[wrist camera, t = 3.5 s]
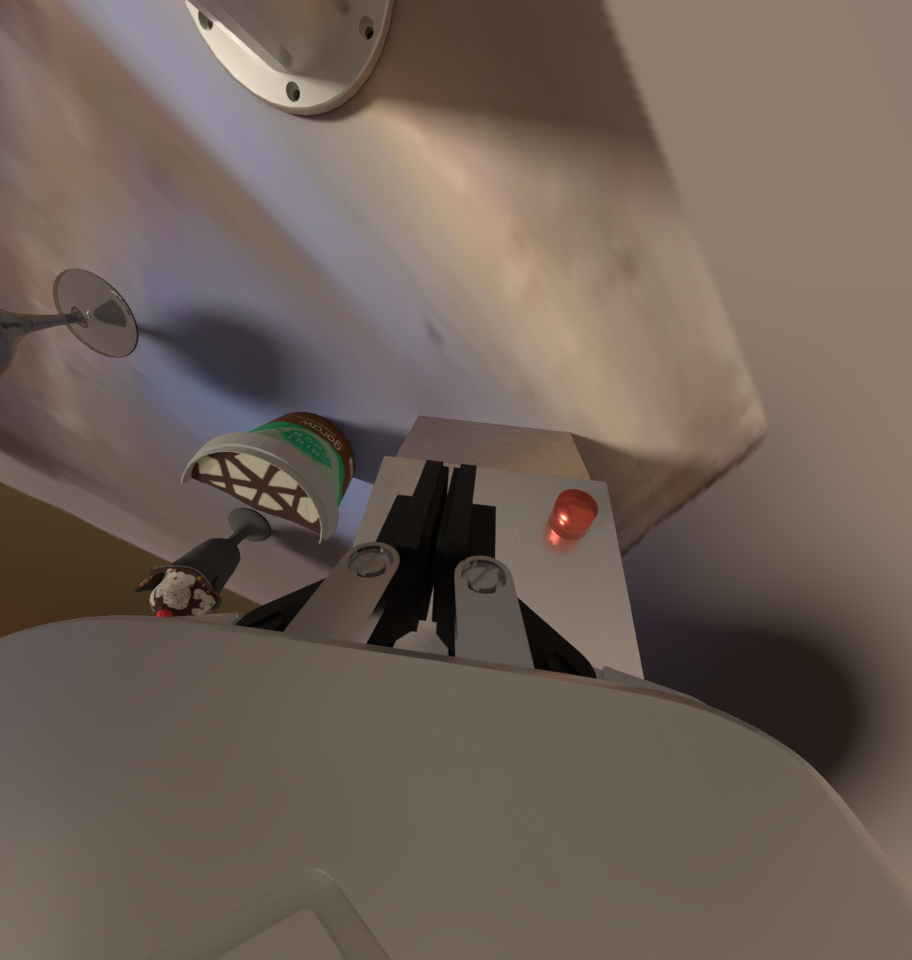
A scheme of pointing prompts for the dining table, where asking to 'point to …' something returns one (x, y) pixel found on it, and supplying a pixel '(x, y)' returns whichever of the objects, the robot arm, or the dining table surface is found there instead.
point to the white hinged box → (494, 447)
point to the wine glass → (75, 318)
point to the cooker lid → (538, 555)
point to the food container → (282, 469)
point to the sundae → (202, 570)
